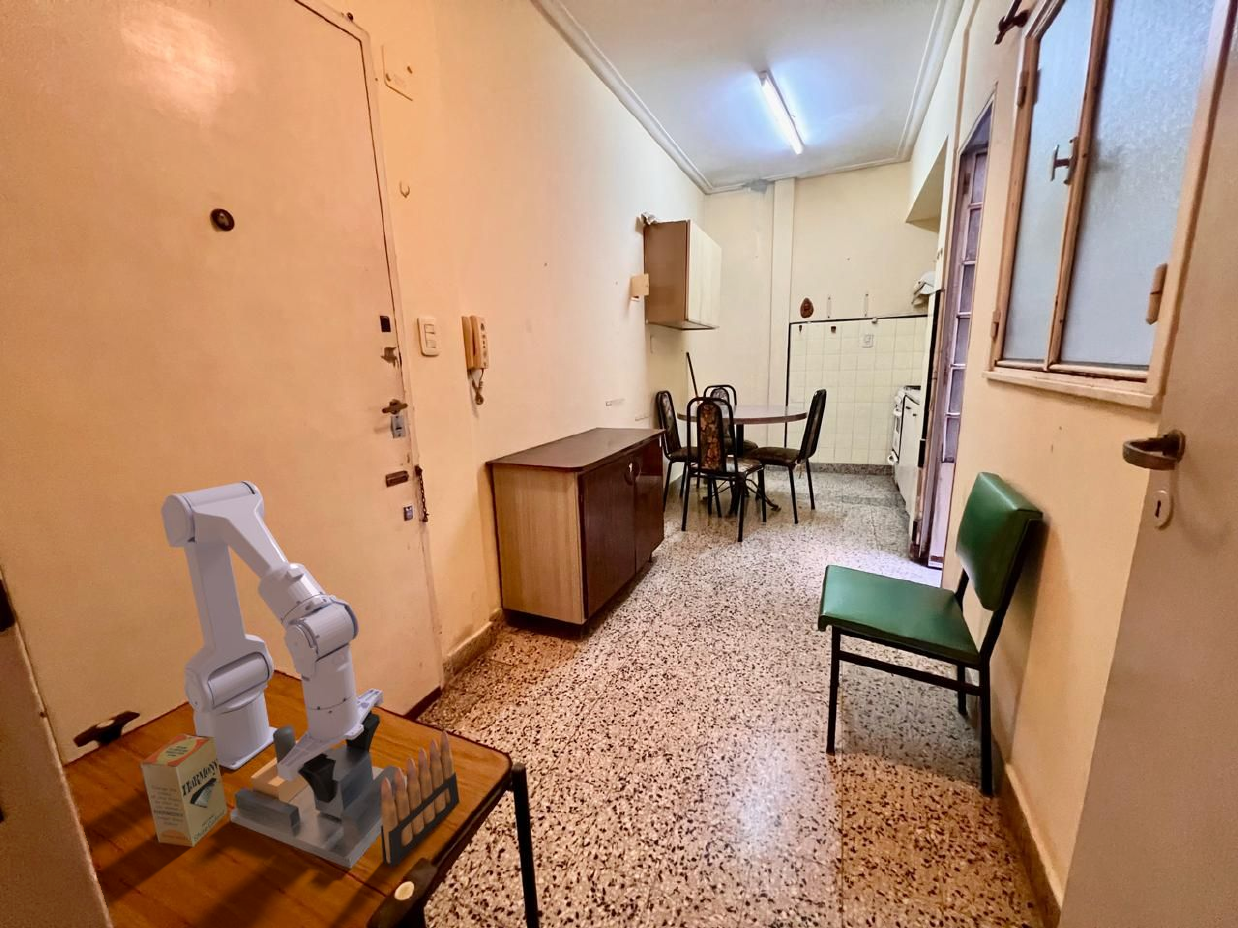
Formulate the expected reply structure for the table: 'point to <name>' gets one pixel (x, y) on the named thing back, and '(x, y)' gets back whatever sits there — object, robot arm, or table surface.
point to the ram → (268, 776)
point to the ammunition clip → (417, 801)
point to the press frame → (318, 820)
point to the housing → (347, 778)
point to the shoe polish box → (184, 789)
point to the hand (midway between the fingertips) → (342, 782)
